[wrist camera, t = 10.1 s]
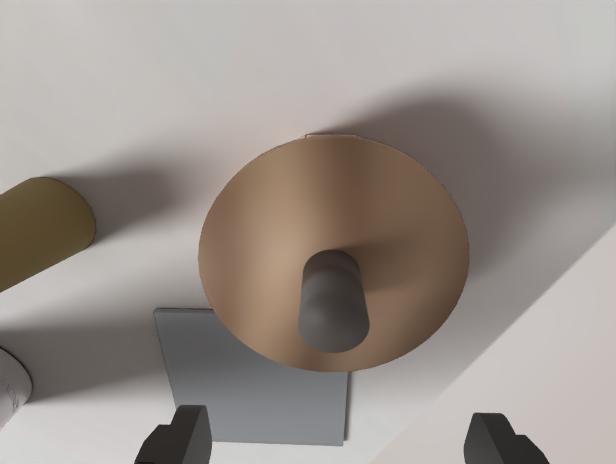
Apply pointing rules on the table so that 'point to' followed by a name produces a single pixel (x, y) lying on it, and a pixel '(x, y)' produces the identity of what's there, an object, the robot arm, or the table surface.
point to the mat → (248, 385)
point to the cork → (41, 228)
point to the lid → (333, 254)
